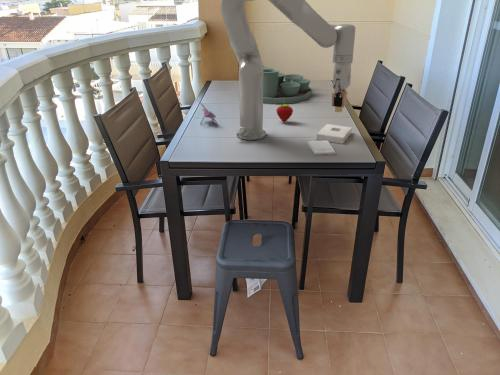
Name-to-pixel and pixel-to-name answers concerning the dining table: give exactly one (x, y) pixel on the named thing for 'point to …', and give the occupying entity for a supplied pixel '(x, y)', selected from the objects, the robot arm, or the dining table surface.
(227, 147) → the dining table surface
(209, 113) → the lily
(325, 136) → the socket
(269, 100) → the tea set
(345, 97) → the plug
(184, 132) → the dining table surface
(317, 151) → the external hard drive
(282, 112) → the strawberry
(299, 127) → the dining table surface
